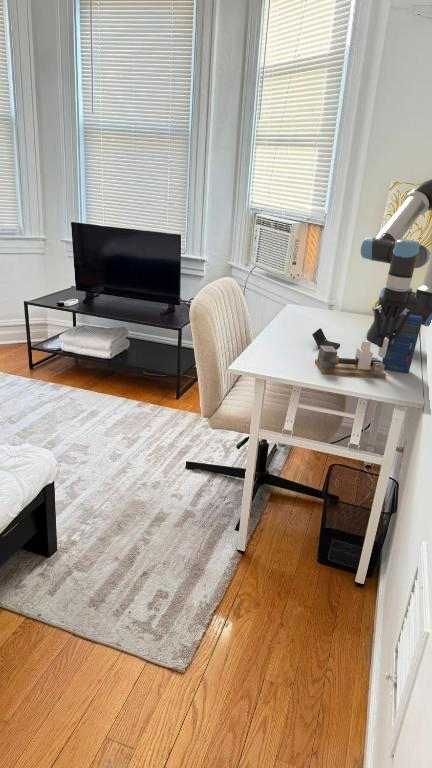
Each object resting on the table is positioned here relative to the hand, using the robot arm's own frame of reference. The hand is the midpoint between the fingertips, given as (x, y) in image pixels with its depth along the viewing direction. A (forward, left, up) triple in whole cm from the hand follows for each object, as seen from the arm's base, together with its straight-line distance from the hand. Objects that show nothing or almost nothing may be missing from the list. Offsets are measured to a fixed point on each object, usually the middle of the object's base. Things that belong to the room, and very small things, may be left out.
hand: (381, 356), depth 181 cm
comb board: (+10, 0, -6) cm, 12 cm away
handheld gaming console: (+12, -25, -7) cm, 29 cm away
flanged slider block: (+6, 0, -5) cm, 8 cm away
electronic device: (-8, -4, -6) cm, 11 cm away
